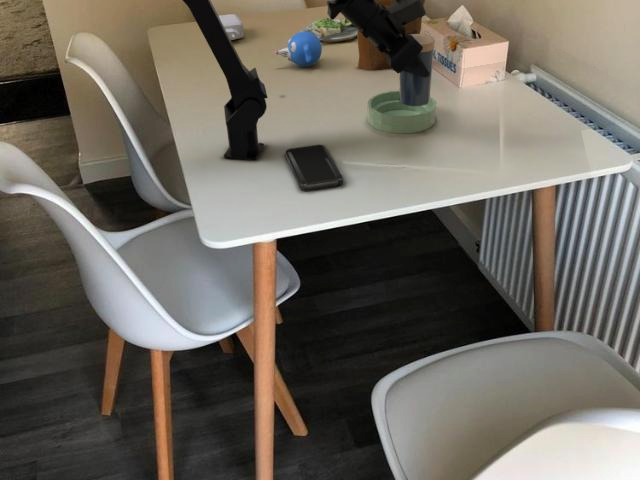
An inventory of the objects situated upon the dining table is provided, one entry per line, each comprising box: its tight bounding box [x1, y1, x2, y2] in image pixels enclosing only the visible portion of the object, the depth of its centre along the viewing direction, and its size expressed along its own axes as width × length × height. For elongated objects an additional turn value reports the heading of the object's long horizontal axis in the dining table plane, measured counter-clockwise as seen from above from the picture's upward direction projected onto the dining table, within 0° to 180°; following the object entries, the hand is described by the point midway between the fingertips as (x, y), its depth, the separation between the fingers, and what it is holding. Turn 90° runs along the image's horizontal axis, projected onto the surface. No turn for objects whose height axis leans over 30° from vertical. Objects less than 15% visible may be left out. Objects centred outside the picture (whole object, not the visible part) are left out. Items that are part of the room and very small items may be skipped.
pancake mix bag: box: [356, 0, 426, 71], centre depth 161 cm, size 7×19×28 cm, turn 102°
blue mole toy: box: [274, 31, 323, 68], centre depth 168 cm, size 12×12×8 cm
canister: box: [398, 33, 436, 106], centre depth 127 cm, size 6×6×12 cm
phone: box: [285, 144, 344, 192], centre depth 124 cm, size 8×1×15 cm
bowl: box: [366, 90, 437, 135], centre depth 139 cm, size 14×14×4 cm
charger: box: [218, 13, 245, 41], centre depth 190 cm, size 5×9×15 cm
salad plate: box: [301, 16, 357, 43], centre depth 190 cm, size 19×18×5 cm
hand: (423, 70), depth 127 cm, fingers closed on canister, 6 cm apart
